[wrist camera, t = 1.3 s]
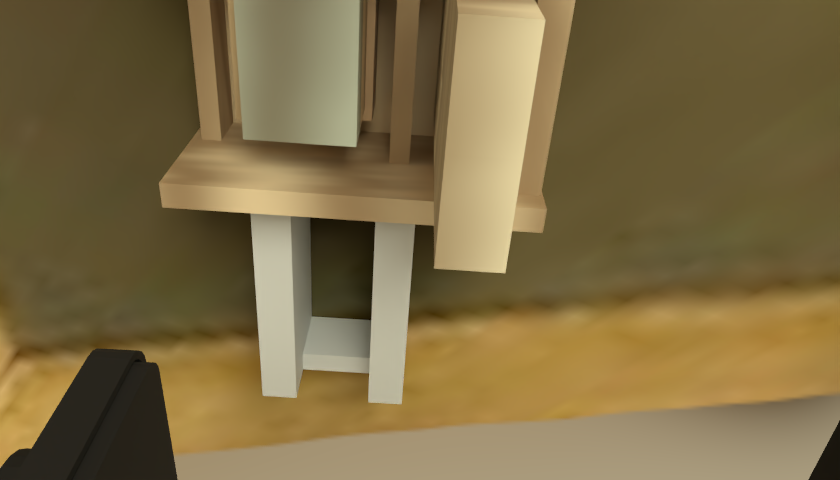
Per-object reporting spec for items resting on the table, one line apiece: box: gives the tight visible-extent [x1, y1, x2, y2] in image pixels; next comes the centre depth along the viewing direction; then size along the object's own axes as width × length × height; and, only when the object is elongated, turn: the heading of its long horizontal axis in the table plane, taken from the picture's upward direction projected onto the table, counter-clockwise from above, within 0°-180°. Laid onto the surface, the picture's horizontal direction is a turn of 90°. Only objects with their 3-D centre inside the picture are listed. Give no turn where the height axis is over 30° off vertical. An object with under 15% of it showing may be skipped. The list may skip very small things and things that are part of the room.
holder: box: [250, 213, 415, 404], centre depth 33 cm, size 7×10×5 cm, turn 176°
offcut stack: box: [227, 0, 379, 147], centre depth 25 cm, size 5×7×6 cm
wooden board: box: [434, 0, 545, 273], centre depth 23 cm, size 2×7×12 cm, turn 176°
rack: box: [159, 0, 576, 233], centre depth 26 cm, size 14×11×7 cm
